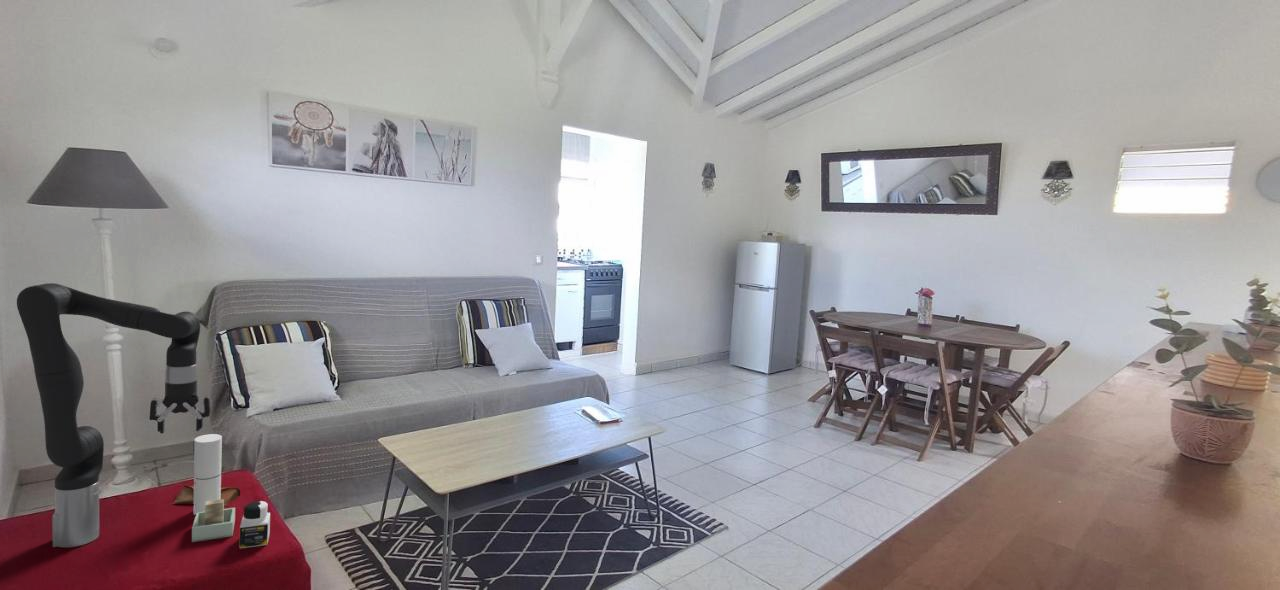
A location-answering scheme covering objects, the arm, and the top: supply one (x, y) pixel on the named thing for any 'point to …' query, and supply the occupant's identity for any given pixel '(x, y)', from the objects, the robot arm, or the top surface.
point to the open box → (213, 526)
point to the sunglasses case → (188, 495)
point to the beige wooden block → (214, 511)
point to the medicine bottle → (255, 525)
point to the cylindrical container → (207, 470)
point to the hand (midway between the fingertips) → (180, 431)
